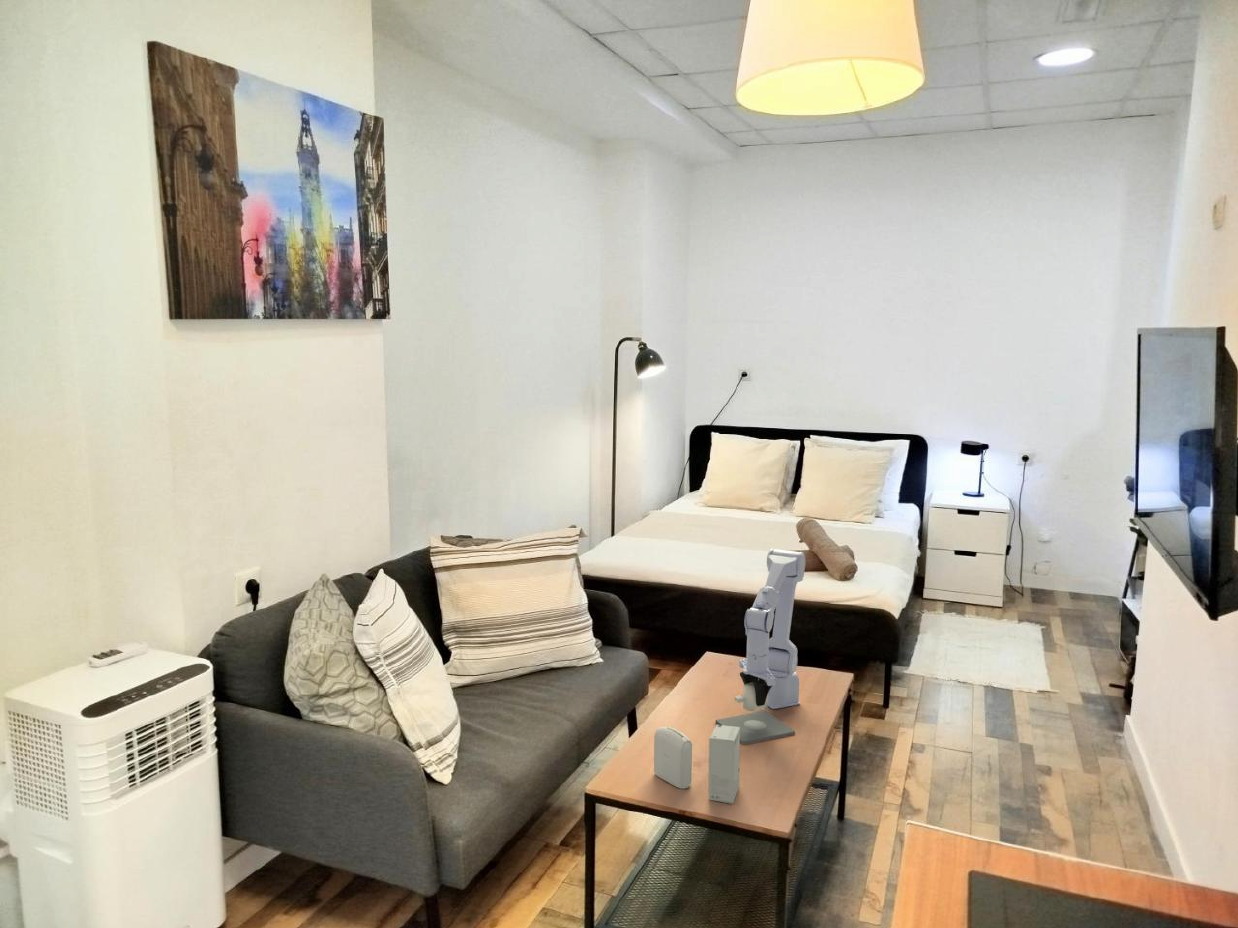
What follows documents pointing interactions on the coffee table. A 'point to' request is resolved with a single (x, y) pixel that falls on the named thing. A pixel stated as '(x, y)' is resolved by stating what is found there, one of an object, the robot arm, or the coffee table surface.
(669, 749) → the photo printer
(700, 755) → the coffee table surface
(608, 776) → the coffee table surface
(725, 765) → the skincare box
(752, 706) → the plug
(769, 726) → the mat
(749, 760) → the coffee table surface
